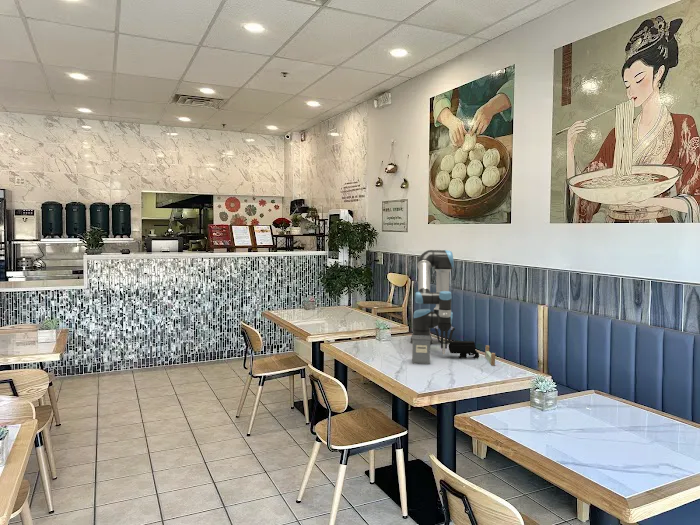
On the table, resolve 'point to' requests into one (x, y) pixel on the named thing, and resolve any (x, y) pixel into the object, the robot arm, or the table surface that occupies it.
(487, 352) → the backstop
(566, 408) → the table surface
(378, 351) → the table surface
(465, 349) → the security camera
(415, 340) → the box
